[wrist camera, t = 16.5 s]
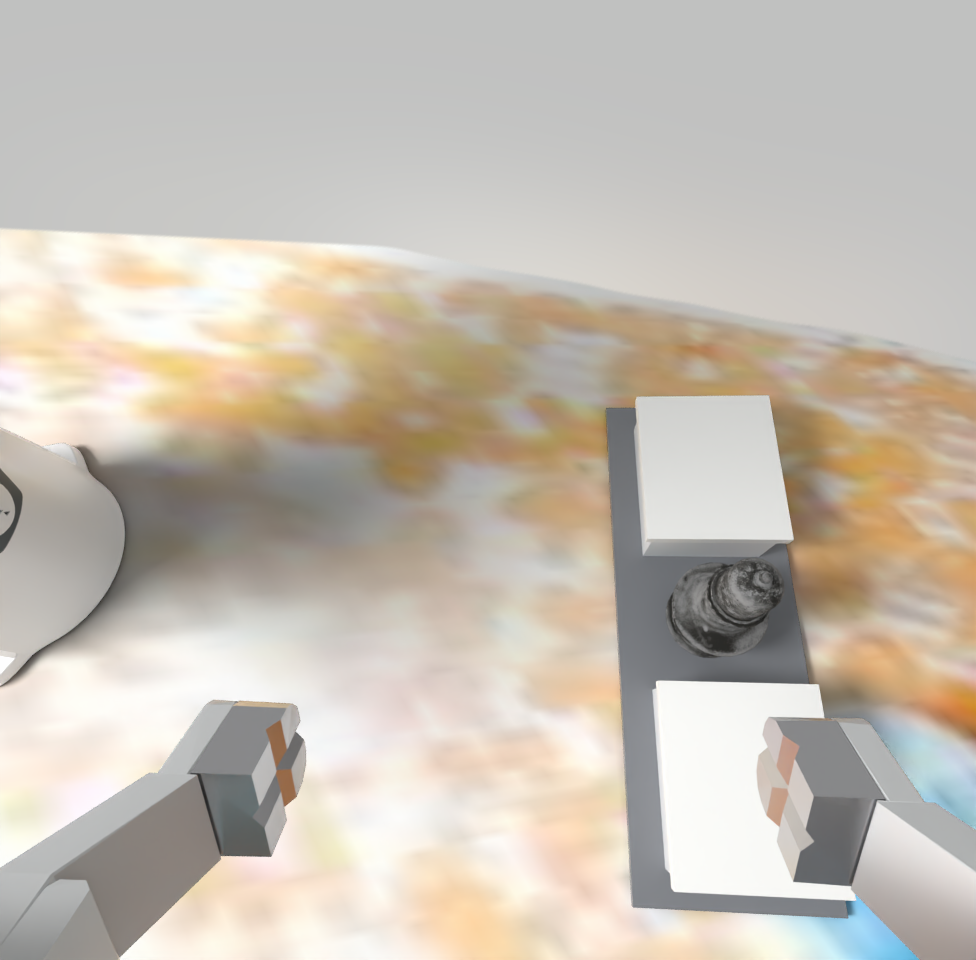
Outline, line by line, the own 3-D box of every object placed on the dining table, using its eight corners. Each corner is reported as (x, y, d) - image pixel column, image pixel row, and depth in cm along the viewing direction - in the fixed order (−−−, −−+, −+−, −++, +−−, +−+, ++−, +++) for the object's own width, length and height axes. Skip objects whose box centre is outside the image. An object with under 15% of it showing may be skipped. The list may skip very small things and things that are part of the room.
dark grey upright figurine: (723, 563, 42) (790, 503, 31) (766, 644, 40) (855, 610, 29) (646, 592, 42) (687, 542, 31) (685, 676, 40) (744, 654, 29)
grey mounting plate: (631, 905, 36) (647, 932, 31) (605, 411, 48) (614, 375, 43) (844, 915, 35) (895, 946, 30) (760, 409, 47) (787, 372, 42)
